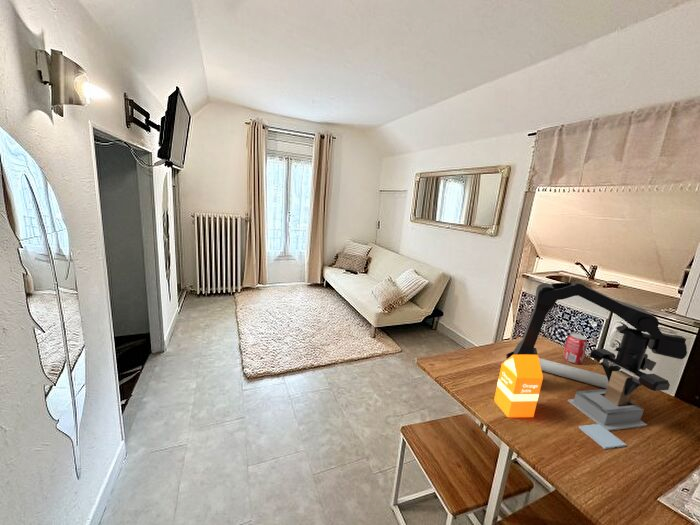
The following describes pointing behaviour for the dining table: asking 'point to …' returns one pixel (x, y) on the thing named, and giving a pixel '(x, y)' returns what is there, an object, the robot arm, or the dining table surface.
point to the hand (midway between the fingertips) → (618, 390)
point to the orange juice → (519, 385)
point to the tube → (574, 373)
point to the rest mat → (602, 436)
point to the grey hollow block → (607, 410)
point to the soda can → (575, 348)
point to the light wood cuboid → (617, 388)
